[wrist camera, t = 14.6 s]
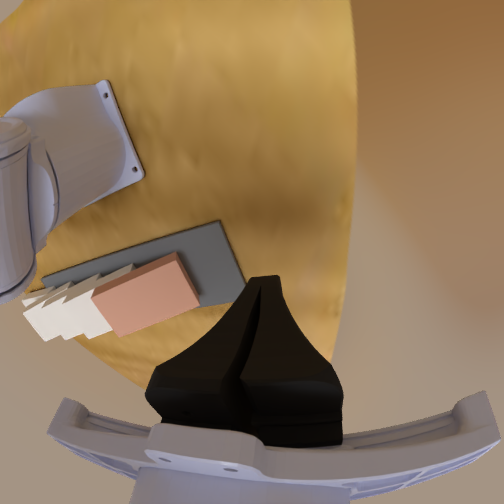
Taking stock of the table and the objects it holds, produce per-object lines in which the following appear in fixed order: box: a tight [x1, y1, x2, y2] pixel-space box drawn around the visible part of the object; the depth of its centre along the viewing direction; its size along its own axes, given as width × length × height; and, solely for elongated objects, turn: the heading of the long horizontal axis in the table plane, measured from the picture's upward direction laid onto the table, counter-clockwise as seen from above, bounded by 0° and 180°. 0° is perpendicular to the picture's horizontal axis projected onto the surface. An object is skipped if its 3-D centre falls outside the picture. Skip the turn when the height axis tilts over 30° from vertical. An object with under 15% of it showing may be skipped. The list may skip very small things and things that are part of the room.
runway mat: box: [41, 221, 246, 309], centre depth 27 cm, size 8×27×1 cm, turn 108°
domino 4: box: [62, 263, 136, 339], centre depth 25 cm, size 5×2×9 cm
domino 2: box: [23, 281, 74, 342], centre depth 28 cm, size 5×2×9 cm
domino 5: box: [90, 252, 200, 337], centre depth 24 cm, size 5×2×9 cm
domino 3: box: [41, 273, 103, 340], centre depth 27 cm, size 5×2×9 cm
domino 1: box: [22, 286, 56, 307], centre depth 30 cm, size 5×2×9 cm
